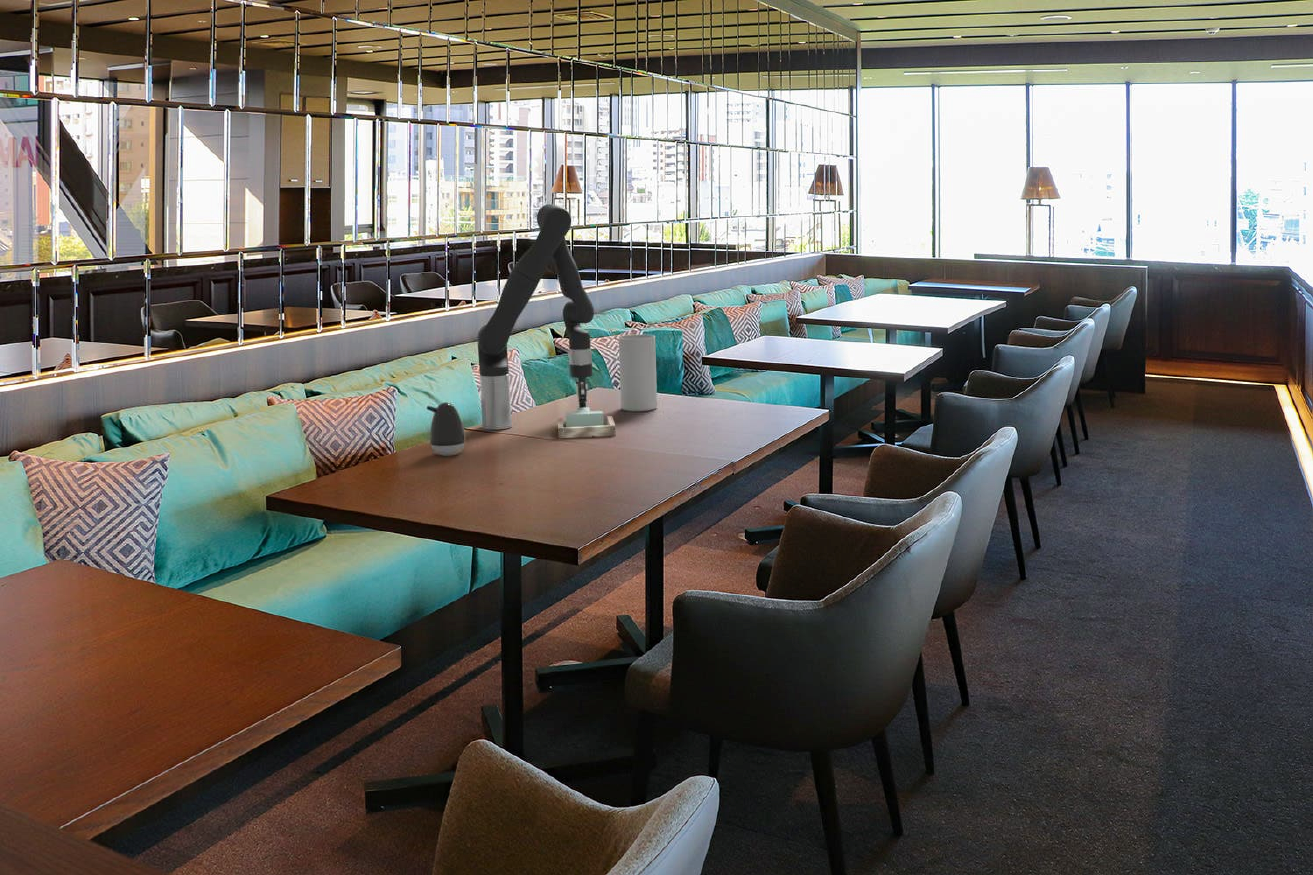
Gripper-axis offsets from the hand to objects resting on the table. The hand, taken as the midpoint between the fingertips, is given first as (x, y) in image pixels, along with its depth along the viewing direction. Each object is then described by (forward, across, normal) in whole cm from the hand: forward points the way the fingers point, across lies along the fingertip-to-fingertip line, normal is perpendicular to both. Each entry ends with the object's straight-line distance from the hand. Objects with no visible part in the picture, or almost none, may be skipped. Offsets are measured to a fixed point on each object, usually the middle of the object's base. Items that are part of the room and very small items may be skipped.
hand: (582, 413), depth 370 cm
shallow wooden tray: (+1, +23, 0) cm, 23 cm away
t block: (+2, +8, 0) cm, 8 cm away
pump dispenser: (+1, +46, -42) cm, 62 cm away
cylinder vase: (+2, -13, +20) cm, 24 cm away
